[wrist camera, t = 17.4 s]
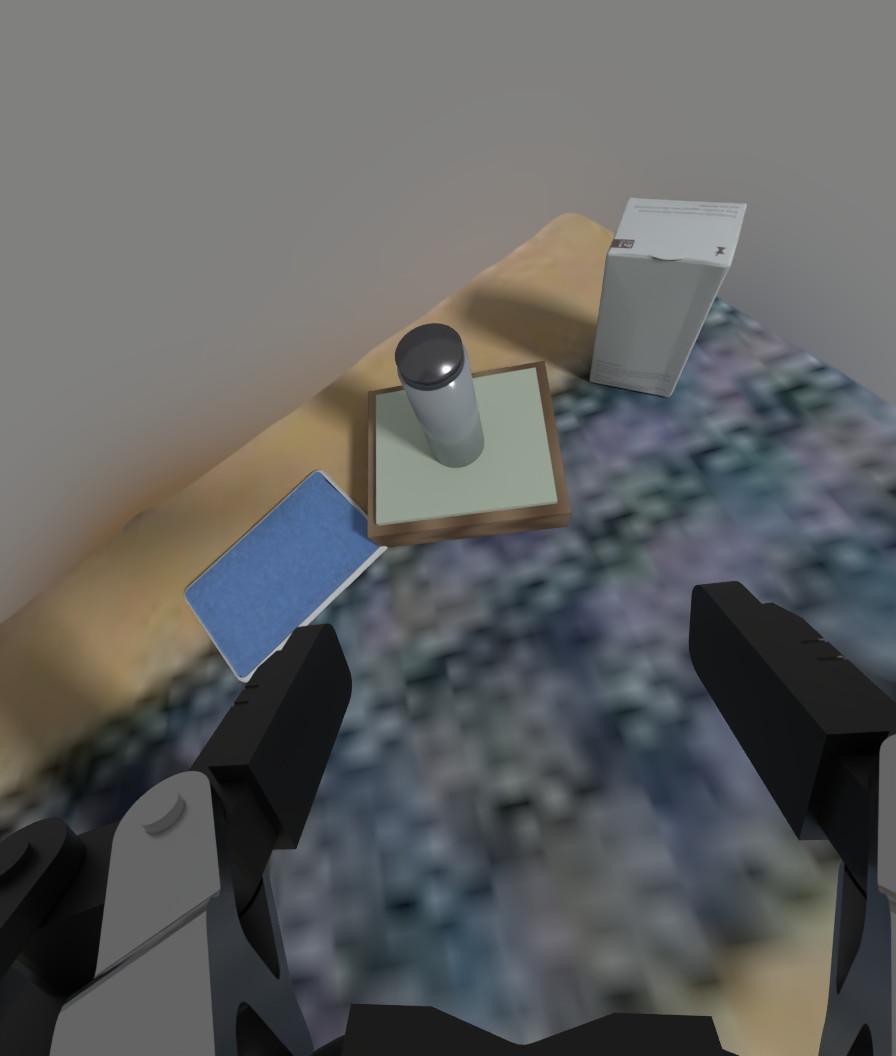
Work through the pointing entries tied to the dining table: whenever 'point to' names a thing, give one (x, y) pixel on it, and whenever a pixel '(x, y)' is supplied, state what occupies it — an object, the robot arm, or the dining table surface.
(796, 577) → the dining table surface
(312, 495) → the blue notebook
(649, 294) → the skincare box
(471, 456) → the ceramic jar
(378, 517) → the plinth
